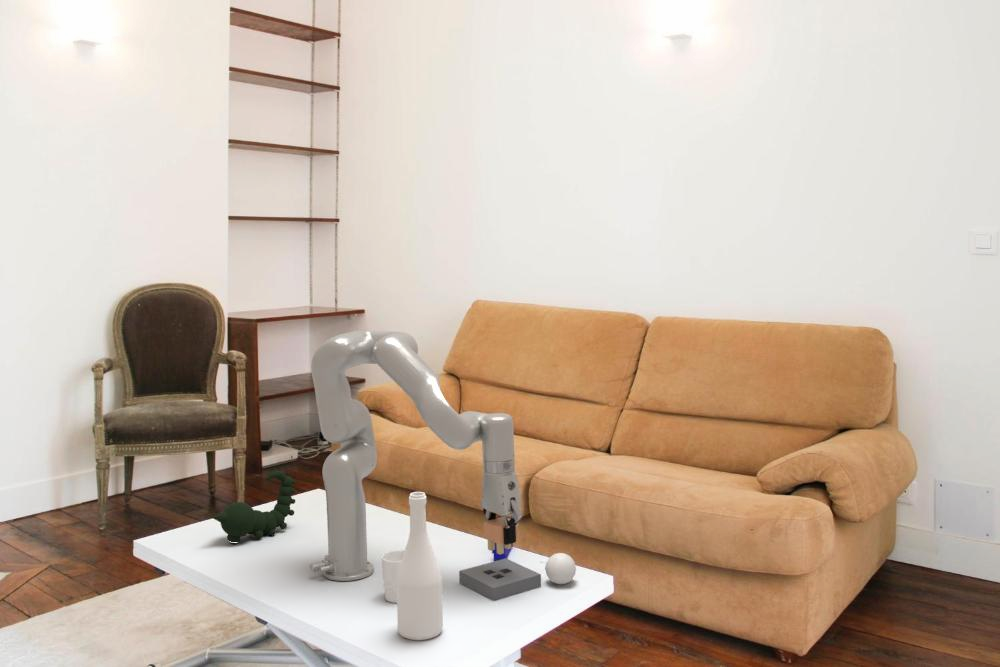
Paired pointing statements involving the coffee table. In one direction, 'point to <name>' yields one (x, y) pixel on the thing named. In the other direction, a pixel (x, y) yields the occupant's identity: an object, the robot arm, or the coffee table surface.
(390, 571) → the white cup
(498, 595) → the flat gray square plate
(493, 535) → the tan block
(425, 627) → the wine bottle
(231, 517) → the toy figurine
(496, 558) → the cable clip
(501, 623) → the coffee table surface
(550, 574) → the white piece
